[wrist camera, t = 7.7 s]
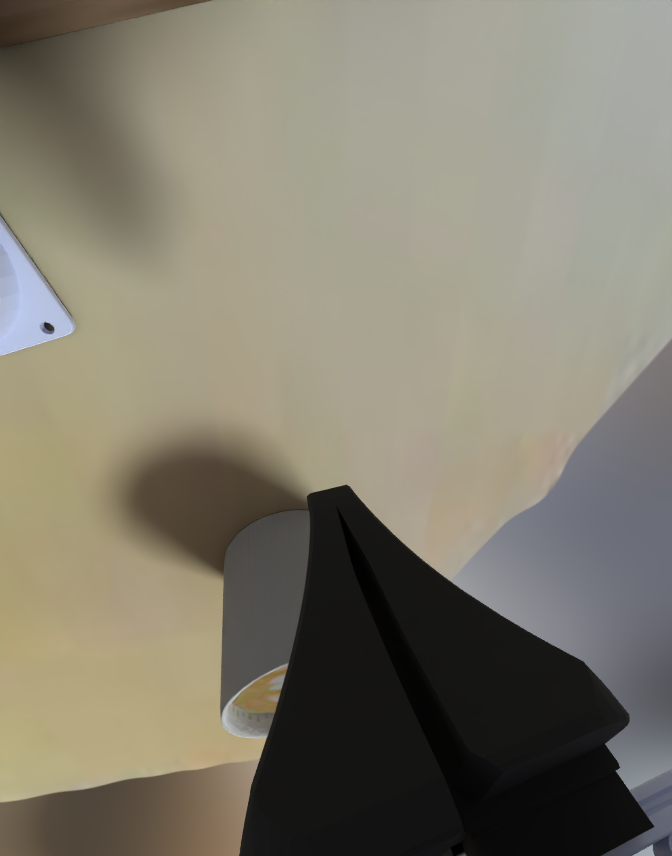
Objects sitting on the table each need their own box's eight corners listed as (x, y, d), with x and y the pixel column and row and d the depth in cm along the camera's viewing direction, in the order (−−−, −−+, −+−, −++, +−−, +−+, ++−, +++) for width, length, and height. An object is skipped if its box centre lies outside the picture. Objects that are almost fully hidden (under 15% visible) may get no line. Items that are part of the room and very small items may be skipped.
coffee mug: (196, 570, 25) (179, 736, 17) (286, 489, 23) (315, 632, 15) (312, 611, 32) (339, 742, 24) (387, 552, 31) (444, 672, 22)
